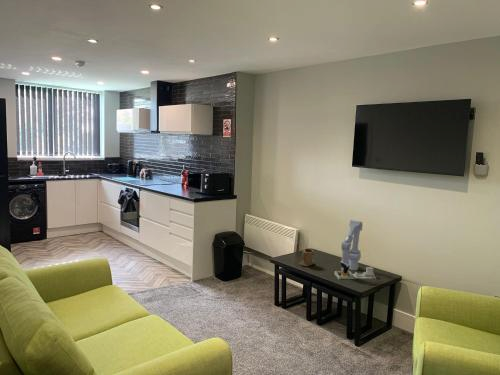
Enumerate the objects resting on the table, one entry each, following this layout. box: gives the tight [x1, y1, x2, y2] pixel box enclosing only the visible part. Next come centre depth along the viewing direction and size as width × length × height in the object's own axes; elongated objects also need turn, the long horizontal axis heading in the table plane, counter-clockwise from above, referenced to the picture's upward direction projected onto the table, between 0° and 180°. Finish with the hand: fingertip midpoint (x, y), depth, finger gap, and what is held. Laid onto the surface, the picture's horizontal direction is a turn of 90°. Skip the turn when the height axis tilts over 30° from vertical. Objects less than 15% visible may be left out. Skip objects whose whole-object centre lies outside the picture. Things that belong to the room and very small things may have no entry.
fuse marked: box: [340, 267, 349, 276], centre depth 317 cm, size 3×5×7 cm, turn 92°
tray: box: [334, 270, 356, 281], centre depth 318 cm, size 13×13×3 cm
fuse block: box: [352, 271, 377, 279], centre depth 319 cm, size 10×18×4 cm, turn 93°
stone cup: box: [298, 248, 316, 267], centre depth 345 cm, size 15×12×15 cm
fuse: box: [365, 266, 374, 277], centre depth 318 cm, size 3×5×7 cm, turn 93°
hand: (344, 272), depth 317 cm, fingers open, 4 cm apart
